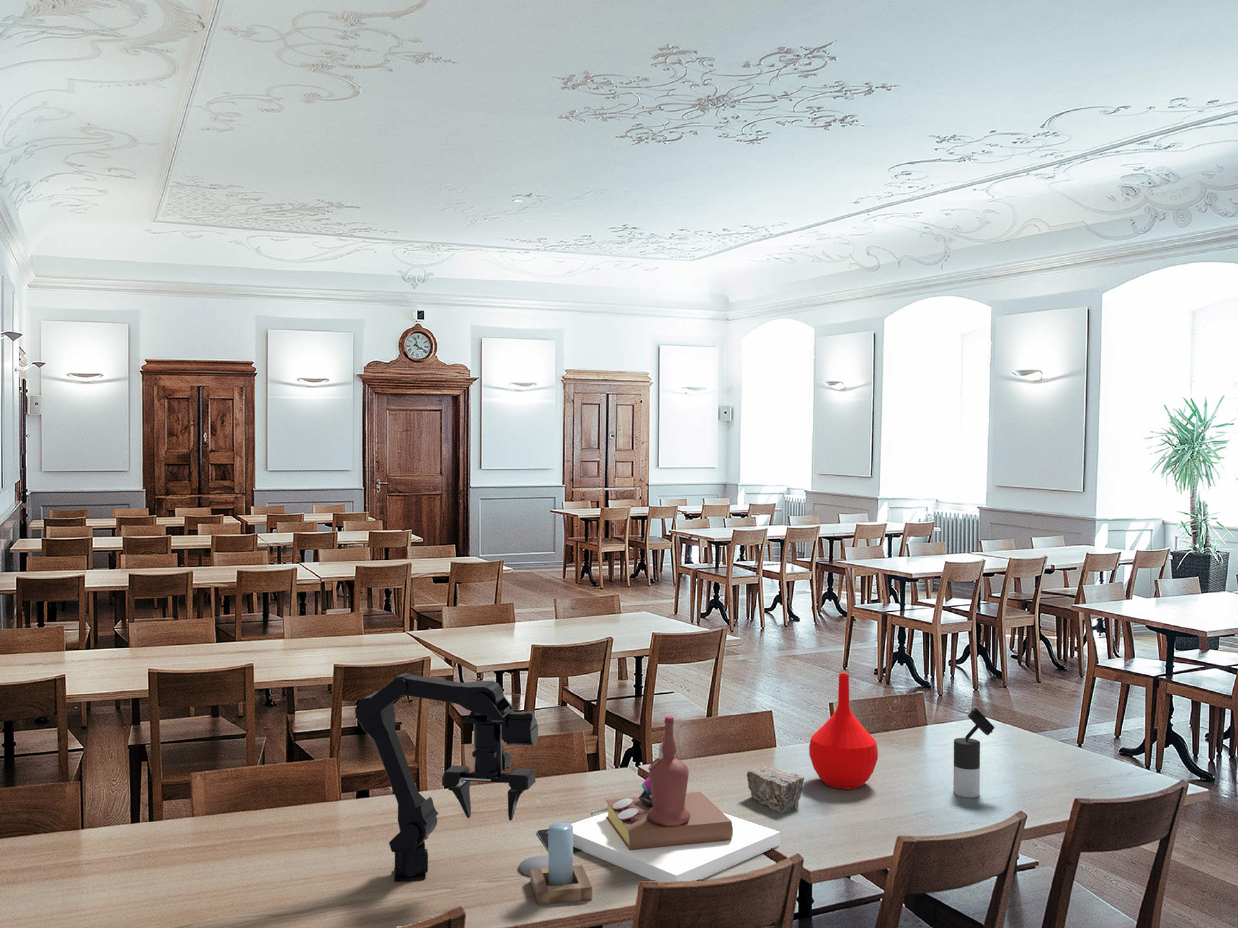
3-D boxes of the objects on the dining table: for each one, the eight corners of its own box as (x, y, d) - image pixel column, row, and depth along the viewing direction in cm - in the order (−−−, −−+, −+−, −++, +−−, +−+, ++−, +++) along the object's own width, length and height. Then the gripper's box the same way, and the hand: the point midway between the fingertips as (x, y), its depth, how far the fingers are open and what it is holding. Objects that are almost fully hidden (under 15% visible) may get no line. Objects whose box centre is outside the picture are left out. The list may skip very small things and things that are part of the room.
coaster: (522, 878, 213) (522, 876, 213) (516, 860, 223) (516, 857, 223) (569, 875, 215) (569, 872, 215) (561, 856, 225) (561, 854, 225)
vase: (825, 768, 290) (826, 664, 289) (888, 781, 279) (888, 672, 279) (797, 785, 275) (798, 675, 274) (861, 799, 264) (862, 684, 264)
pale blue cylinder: (550, 896, 205) (550, 832, 205) (546, 886, 210) (546, 823, 209) (574, 894, 206) (575, 830, 206) (570, 884, 211) (570, 821, 211)
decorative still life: (653, 803, 261) (654, 683, 261) (779, 846, 233) (780, 712, 232) (549, 838, 237) (550, 706, 237) (676, 892, 208) (677, 742, 208)
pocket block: (537, 904, 201) (537, 891, 201) (530, 881, 212) (530, 869, 212) (592, 899, 203) (592, 886, 203) (582, 877, 214) (582, 865, 214)
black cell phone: (551, 855, 226) (535, 830, 240) (551, 859, 226) (535, 833, 240) (583, 851, 228) (566, 826, 242) (583, 854, 228) (566, 830, 242)
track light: (972, 809, 266) (1022, 753, 268) (930, 766, 264) (981, 709, 266) (960, 801, 273) (1009, 746, 275) (918, 758, 270) (968, 703, 273)
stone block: (808, 807, 258) (809, 777, 258) (783, 814, 253) (783, 783, 253) (769, 792, 269) (770, 763, 269) (744, 798, 264) (744, 769, 264)
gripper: (542, 734, 217) (544, 807, 217) (460, 731, 221) (462, 803, 222) (526, 749, 206) (528, 826, 206) (440, 746, 211) (442, 821, 211)
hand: (489, 818), depth 212 cm, fingers open, 9 cm apart
